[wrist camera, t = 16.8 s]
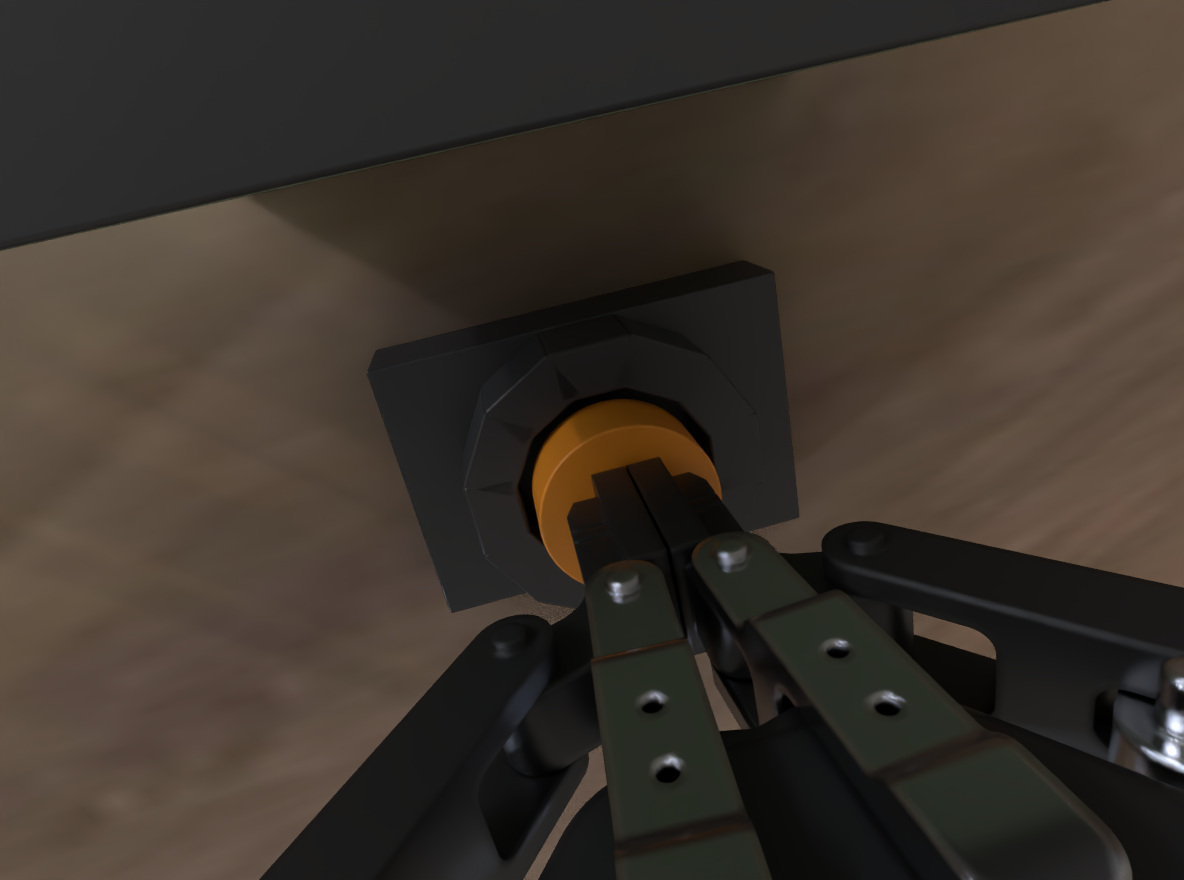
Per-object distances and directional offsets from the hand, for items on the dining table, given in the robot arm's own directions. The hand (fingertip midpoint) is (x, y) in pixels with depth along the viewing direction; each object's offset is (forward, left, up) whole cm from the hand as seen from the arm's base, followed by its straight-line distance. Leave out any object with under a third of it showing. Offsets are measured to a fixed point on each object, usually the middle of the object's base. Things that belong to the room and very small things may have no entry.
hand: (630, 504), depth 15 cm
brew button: (0, 0, -2) cm, 2 cm away
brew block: (0, 0, -5) cm, 5 cm away
